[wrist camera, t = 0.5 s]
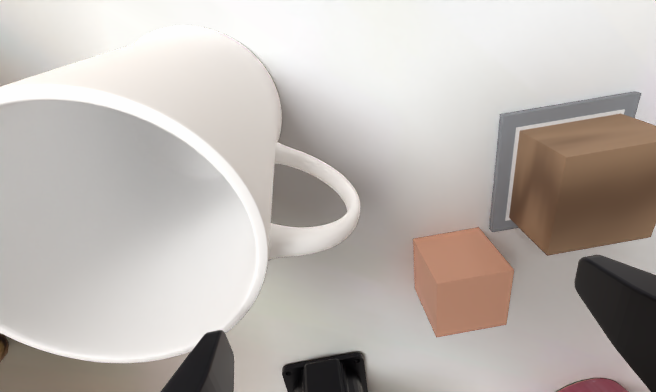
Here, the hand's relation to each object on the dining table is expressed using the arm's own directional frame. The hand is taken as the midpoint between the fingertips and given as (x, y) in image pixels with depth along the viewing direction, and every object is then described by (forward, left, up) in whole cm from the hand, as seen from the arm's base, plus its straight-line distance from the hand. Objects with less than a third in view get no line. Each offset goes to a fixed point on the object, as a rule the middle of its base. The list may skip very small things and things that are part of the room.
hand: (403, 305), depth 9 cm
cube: (-10, -6, -13) cm, 18 cm away
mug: (+2, +6, -13) cm, 15 cm away
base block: (-5, -13, -13) cm, 19 cm away
